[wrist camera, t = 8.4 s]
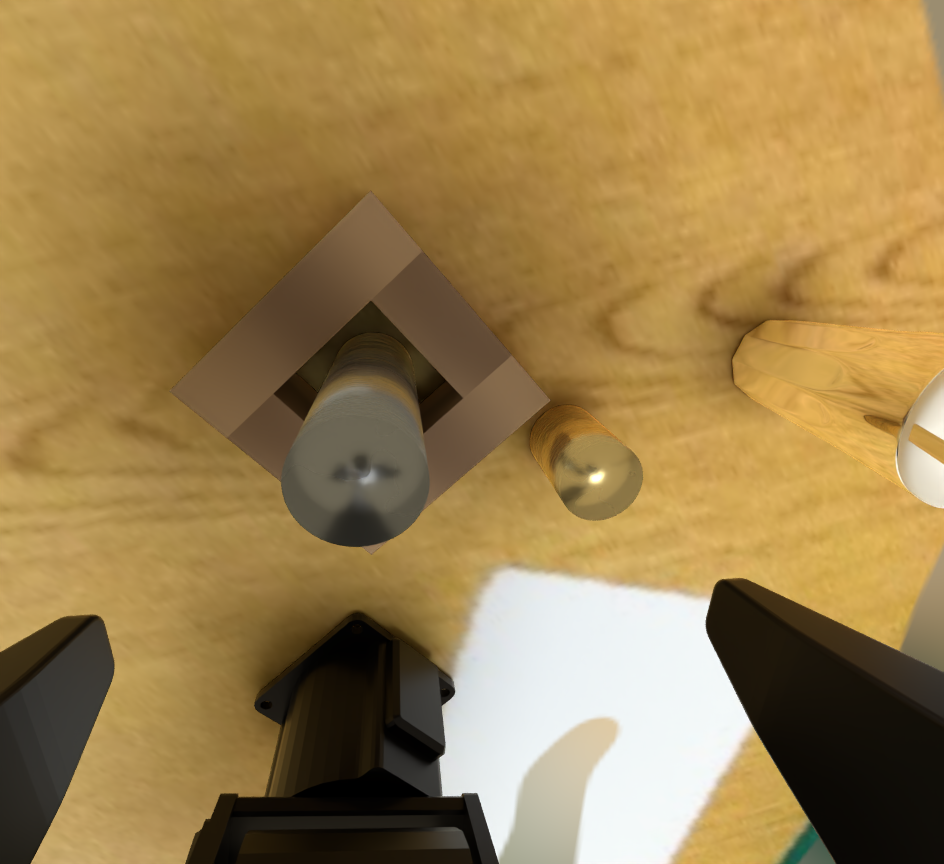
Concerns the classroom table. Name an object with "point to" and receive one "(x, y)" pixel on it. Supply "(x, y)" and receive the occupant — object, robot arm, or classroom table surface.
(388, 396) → the long pin
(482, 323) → the collar
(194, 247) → the classroom table surface
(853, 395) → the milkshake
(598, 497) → the short pin
